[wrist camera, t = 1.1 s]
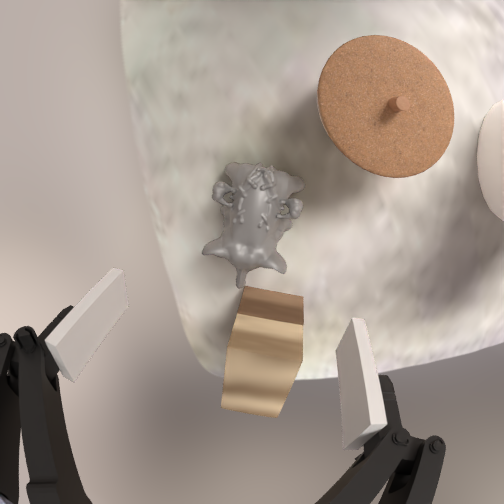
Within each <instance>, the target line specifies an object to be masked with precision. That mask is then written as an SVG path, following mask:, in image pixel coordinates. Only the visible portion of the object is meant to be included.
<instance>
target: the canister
mask: <svg viewBox="0 0 504 504" xmlns="http://www.w3.org/2000/svg"><path fill="white" fill-rule="evenodd" d="M477 168H478V179H479V183H480V186H481V190H482V194H483V197H484V199H485V201H486V203H487V205H488V206H489V208H490V210H491V211H492V212H493V213H494V214H495V215H496V216H497V217H499V218H500V219H501V220H502V221H504V99H503V100H501V101H499V102H498V103H496V104H494V105H493V106H492V107H491V109H490V110H489V112H488V113H487V114H486V116H485V117H484V120H483V124H482V127H481V130H480V133H479V137H478V148H477Z"/></svg>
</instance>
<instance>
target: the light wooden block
mask: <svg viewBox="0 0 504 504" xmlns="http://www.w3.org/2000/svg"><path fill="white" fill-rule="evenodd" d="M302 361H303V325H299V324H293V323H287V322H281V321H275V320H269V319H264V318H259V317H253V316H248V315H243V314H238V313H237V316H236V319H235V322H234V326H233V329H232V333H231V336H230V339H229V343H228V346H227V353H226V363H225V373H224V383H223V393H222V403H221V408H224V409H228V410H233V411H238V412H243V413H248V414H255V415H260V416H267V417H274V418H277V417H278V415H279V413H280V410H281V408H282V406H283V404H284V402H285V400H286V398H287V396H288V393H289V391H290V389H291V387H292V384H293V382H294V380H295V378H296V375H297V373H298V371H299V368H300V366H301V363H302Z"/></svg>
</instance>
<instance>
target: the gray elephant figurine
mask: <svg viewBox="0 0 504 504" xmlns="http://www.w3.org/2000/svg"><path fill="white" fill-rule="evenodd" d="M225 173H226V174H227V175H228V177H230V178H231V181H232V187H231V186H229V185H228V184H226V183H224V182H217V183H215V185H214V186H213V195H212V198H213V200H214V201H217V202H219V203H220V204H223V206H222V208H221V213H222V215H223V216H224V222H223V225H224V231H223V233H222V235H221V237H220V238H218V239H216V240H213V241H211V242H209V243H208V244H206V246H205V247H204V248H203V251H202V254H203V255H209V254H212V255H216V256H218V257H221V258H225V259H227V260H229V262H230V263H231V264H232V265H233V266H234V267H235V268H236V269H237V278H236V286H237V288H238V289H240V288H243V287H244V286H245V277H246V274H247V273H248V272H249V271H251V270H253V269H256V268H259V267H263V268H270V269H275V270H276V271H278V272H280V273H282V274H284V273H285V272H286V270H287V265H286V262H285V260H284V259H283V257H282V256H281V255H280V254H279V253H278V252H277V251H276V247H277V243H278V241H279V240H280V239H281V237H282V235H283V232H284V231H287V230H289V229H291V227H292V220H291V219H297V218H298V217H299V216H300V212H301V211H302V208H303V203H302V201H301V200H300V199H297V198H290V199H288V198H289V196H290V195H291V194H292V193H294V192H300V191H302V190H303V189H304V188H305V182H304V180H303V179H302V178H301V177H299V176H291V175H289V174H288V173H286V172H284V171H277V170H276V169H275V167H274V166H272V165H271V166H269V167H268V168H266V167H263V165H262V163H258V164H256V165H251V164H248V163H243V164H238V163H236V162H233V163H229V164H227V165H226V166H225ZM229 192H232V193H233V194H234V195H231V196H230V199H232V200H233V203H227V202H226V201H225V200H224V198H223V196H224V195H225V194H226V193H229ZM285 204H286V205H287V207H288V208H289V213H287V214H285V215H280V214H281V210H284V207H283V205H285Z"/></svg>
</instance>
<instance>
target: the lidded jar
mask: <svg viewBox="0 0 504 504" xmlns="http://www.w3.org/2000/svg"><path fill="white" fill-rule="evenodd" d="M317 106H318V112H319V116H320V119H321V122H322V125H323V127H324V129H325V131H326V133H327V134H328V136H329V137H330V138H331V140H332V141H333V143H334V144H335V145H336V147H337V148H338V149H339V150H340V151H341V152H342V153H343V154H344V155H345V156H346V157H347V158H349V159H350V160H351V161H352V162H353V163H355V164H356V165H358V166H360V167H361V168H363V169H365V170H367V171H369V172H371V173H373V174H377V175H380V176H384V177H392V178H402V177H409V176H413V175H416V174H419V173H421V172H424V171H425V170H427V169H428V168H430V167H431V166H433V165H434V164H435V163H436V162H437V161H438V160H439V159H440V157H441V156H442V155H443V154H444V152H445V150H446V148H447V147H448V145H449V142H450V139H451V136H452V133H453V127H454V108H453V101H452V98H451V94H450V91H449V88H448V86H447V84H446V81H445V80H444V78H443V76H442V74H441V73H440V71H439V70H438V69H437V67H436V66H435V65H434V64H433V62H432V61H431V60H430V59H429V58H428V57H427V56H426V55H424V54H423V53H422V52H421V51H419V50H418V49H417V48H415V47H413V46H412V45H410V44H408V43H406V42H404V41H401V40H399V39H396V38H392V37H388V36H379V35H371V36H362V37H359V38H356V39H353V40H351V41H349V42H347V43H345V44H343V45H342V46H341V47H339V48H338V49H337V50H336V51H335V52H334V53H333V54H332V55H331V56H330V58H329V59H328V60H327V62H326V64H325V66H324V68H323V69H322V72H321V75H320V78H319V83H318V90H317Z"/></svg>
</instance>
